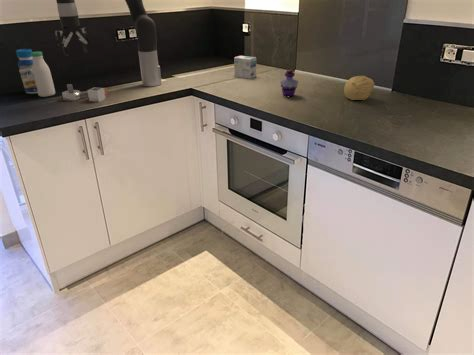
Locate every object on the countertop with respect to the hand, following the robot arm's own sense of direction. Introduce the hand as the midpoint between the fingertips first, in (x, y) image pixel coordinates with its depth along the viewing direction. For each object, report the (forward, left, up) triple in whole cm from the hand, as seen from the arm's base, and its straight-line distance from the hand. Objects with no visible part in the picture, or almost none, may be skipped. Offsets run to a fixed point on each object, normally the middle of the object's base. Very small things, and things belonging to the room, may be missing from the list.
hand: (76, 54), depth 168 cm
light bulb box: (-86, 0, -21) cm, 88 cm away
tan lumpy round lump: (-110, +62, -21) cm, 128 cm away
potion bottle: (-86, +42, -21) cm, 98 cm away
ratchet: (-1, -4, -20) cm, 21 cm away
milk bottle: (+15, -17, -21) cm, 31 cm away
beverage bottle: (+20, -26, -21) cm, 39 cm away
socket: (-5, +4, -20) cm, 21 cm away
